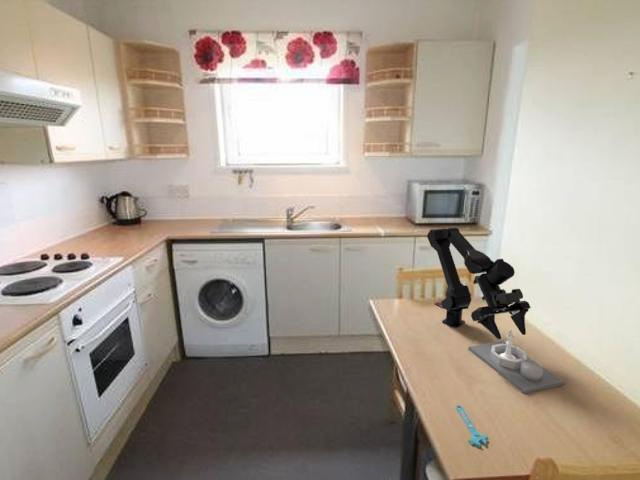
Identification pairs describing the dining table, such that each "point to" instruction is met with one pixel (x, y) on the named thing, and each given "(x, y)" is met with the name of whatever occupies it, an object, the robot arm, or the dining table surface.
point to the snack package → (439, 303)
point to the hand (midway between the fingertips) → (512, 336)
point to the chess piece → (508, 347)
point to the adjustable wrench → (472, 430)
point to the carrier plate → (516, 367)
